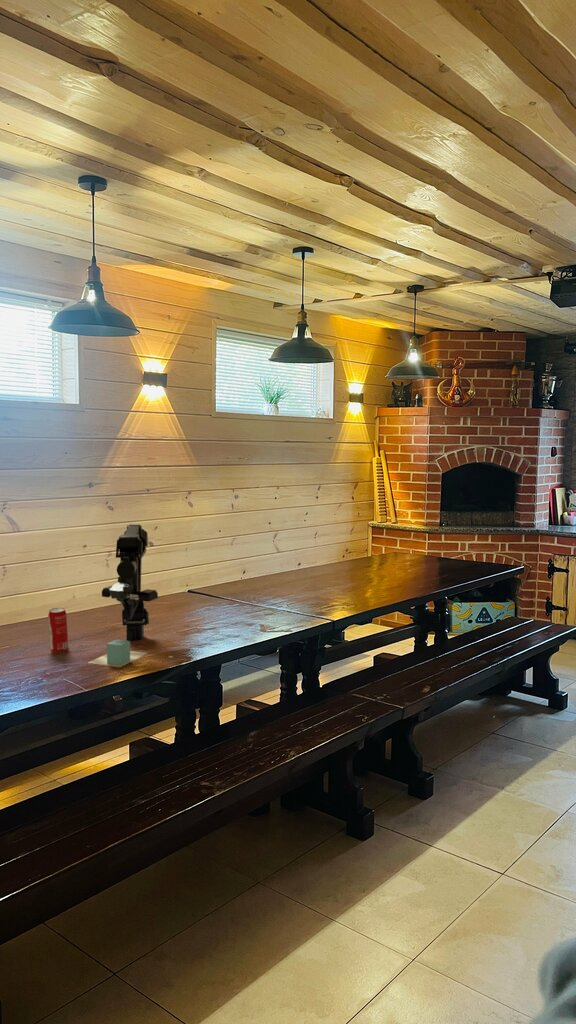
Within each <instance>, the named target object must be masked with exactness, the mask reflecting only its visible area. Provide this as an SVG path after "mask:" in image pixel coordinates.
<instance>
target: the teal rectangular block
mask: <svg viewBox="0 0 576 1024" xmlns="http://www.w3.org/2000/svg"><path fill="white" fill-rule="evenodd" d="M130 651H131V641H127V640H122V639H114V640H112V641H109V642H108V643H106V654H107V664H112V665H119V666H121V667H123V666H125V665H127V664H129V663H130V662H129V661H130ZM128 662H129V663H128ZM126 663H127V664H126ZM124 664H125V665H124ZM122 665H123V666H122Z"/></svg>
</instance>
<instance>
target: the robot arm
mask: <svg viewBox="0 0 576 1024" xmlns="http://www.w3.org/2000/svg"><path fill="white" fill-rule="evenodd" d="M115 547H116V548H115V558H116V559H117V558H118V559H120V560H119V561H120V562H119V563H118V565H117V567H116V574H117V575H118V576H117V577H118V578H117V582H116V583H114V584H113V585H110V586H106V587H104V588H102V590H101V597H102V598H110V597H111V599H114V600H116V601H118V602H119V603H121V605H122V606H123V608H122V610H121V617H122V620H121V621H122V626H126V631H125V632H126V634H125V635H126V636H125V637H126V640H125V641H130V642H135V641H140V640H143V639H144V637H145V629H144V628H145V626H147V625H149V623H150V617H149V611H148V610H147V608H146V604H145V603H144V602H151V601H154V600H156V599H158V598H159V597H158V595H159V594H158V591H157V590H156V589H144V590H142V562H143V561H142V560H143V557H144V556H145V554H146V553H147V547H149V537H148V531H146V530H144V529H143V527H142V524H141V525H140V524H127V525H126V529H125V531H124V533H123V534H121V535H119V536H118V538H117V539H116V546H115Z"/></svg>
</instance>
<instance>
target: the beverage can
mask: <svg viewBox="0 0 576 1024" xmlns="http://www.w3.org/2000/svg"><path fill="white" fill-rule="evenodd" d="M48 611H49V612H48V615H47V616H48V628H49V644H50V652H51V653H52V654H54V653H57V652H66V651H67V650H69V637H68V635H69V634H68V622H67V621H68V620H67V612H66V609H65V608H63V607H55V608H54V607H53V608H51V609H49V610H48Z"/></svg>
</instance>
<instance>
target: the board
mask: <svg viewBox="0 0 576 1024" xmlns="http://www.w3.org/2000/svg"><path fill="white" fill-rule="evenodd" d="M147 654H148V652H141V651H134V650H130V661H129V662H128V663H126V664H124V665H122V666H119V665H112V664H107V653H105V654H104V655H101V656H99V657H97V658H95V659H93V660H91V661H89V662H87V663H88V664H95V665H101V666H106V667H108V666H109V667H114V668H121V667H123V666H125V665H127V664H129V663H132V662H133V661H135V660H137V659H139V658H141V657H143V656H145V655H147Z"/></svg>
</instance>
